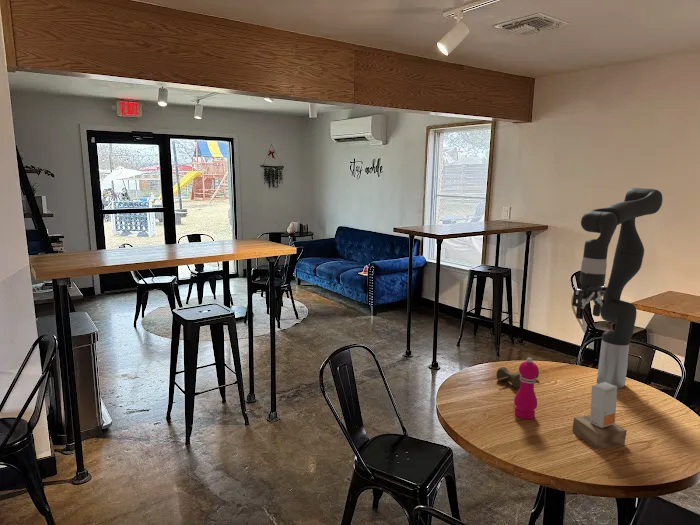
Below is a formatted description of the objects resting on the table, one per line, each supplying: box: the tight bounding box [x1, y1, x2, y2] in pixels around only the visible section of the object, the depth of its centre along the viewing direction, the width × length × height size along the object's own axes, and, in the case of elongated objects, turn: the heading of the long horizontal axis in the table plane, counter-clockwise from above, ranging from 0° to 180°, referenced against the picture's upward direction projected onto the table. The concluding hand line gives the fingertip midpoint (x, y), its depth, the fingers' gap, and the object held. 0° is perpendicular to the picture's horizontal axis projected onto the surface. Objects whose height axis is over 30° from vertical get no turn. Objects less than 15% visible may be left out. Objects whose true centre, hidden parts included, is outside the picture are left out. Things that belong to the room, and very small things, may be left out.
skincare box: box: [589, 382, 618, 428], centre depth 140 cm, size 6×4×12 cm
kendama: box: [496, 366, 540, 390], centre depth 180 cm, size 6×10×20 cm
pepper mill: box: [513, 357, 539, 420], centre depth 153 cm, size 7×7×20 cm
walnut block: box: [571, 414, 627, 450], centre depth 141 cm, size 10×10×5 cm
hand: (587, 317), depth 160 cm, fingers open, 8 cm apart
